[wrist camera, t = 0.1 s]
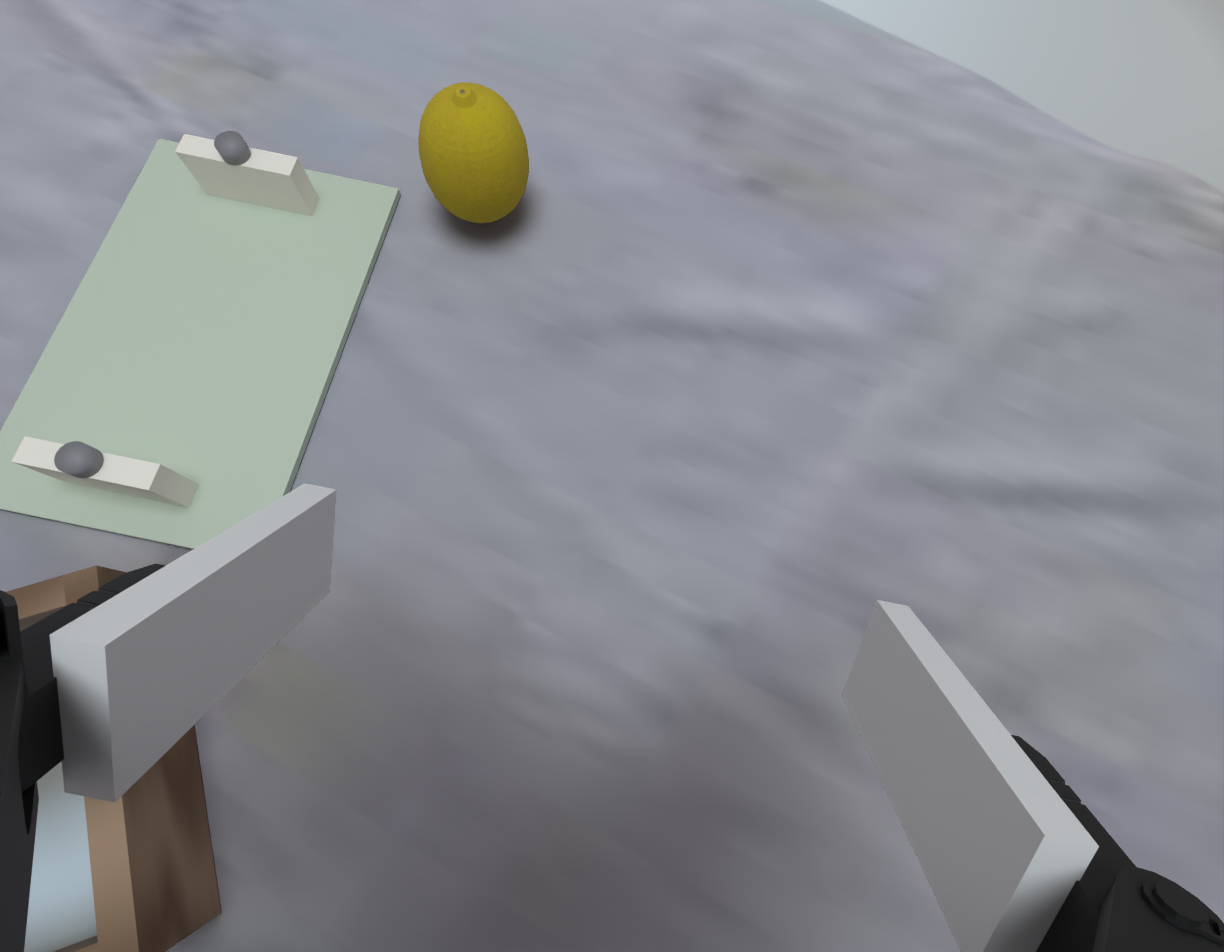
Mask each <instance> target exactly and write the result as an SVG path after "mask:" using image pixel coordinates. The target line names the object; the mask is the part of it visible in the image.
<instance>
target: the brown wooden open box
mask: <svg viewBox="0 0 1224 952" xmlns="http://www.w3.org/2000/svg"><path fill="white" fill-rule="evenodd" d="M124 573H126V572H122V571H118V570H113V569H109V568H105V567H100V566H93V567H90V568H87V569H83V570H80V571H76V572H73V573H69V574H66V575H63V576H59V577H56V578H52V579H49V580H45V581H42V582H38V583H35V584H32V585H28V586H25V587H21V588H18V589H14V590H11V591H8V592H5V593H7V594H10V595H12V596H14V598H15V600H16V603H17V607H18V616H19V625H20V632H21V631H22V630H24V629H26V628H28V627H30V626H31V625H33V624H35V623H37V622H39V621H40V620H42V619H44V618H46V617H47V616H49V615H51V614H53V613H55V612H56V611H58V610H60V609H62V608H63V607H65V606H67V605H69V604H71V603H76V602H77V600H78V599H79V598H81V597H83V596H85V595H87V594H88V593H90V592H92V591H98V588H99V587H101V586H103V585H104V584H106V583H108V582H110V581H112V580H113V579H115V578H117V577H119V576H120V575H122V574H124ZM37 786H38V795H39V803H38V813H37V824H36V834H35V844H34V855H33V865H32V875H31V885H30V896H29V906H28V916H27V926H26V937H25V947H24V952H165V951H166V950H168V949H169V948H171V947H172V946H174V945H175V944H177V943H178V942H179V941H181V940H182V939H184V938H185V937H187V936H188V935H190V934H191V933H193V932H194V931H196V930H197V929H198V928H200V927H201V926H203V925H204V924H206V923H207V922H209V921H210V920H212V919H213V918H214V917H216V916H217V915H219V914H220V913H221V909H220V902H219V895H218V888H217V881H216V874H215V867H214V860H213V853H212V846H211V839H210V832H209V825H208V818H207V811H206V804H205V797H204V790H203V783H202V776H201V770H200V763H199V756H198V749H197V742H196V735H195V728H194V725H193V726H192V727H191V728H190V729H189V730H188V731H187V732H186V733H185V734H184V735H183V736H182V737H181V738H180V739H179V740H178V741H177V742H176V743H175V744H174V745H173V746H172V747H171V748H170V749H169V750H168V751H167V752H166V753H165V754H164V755H163V756H162V757H161V758H160V759H159V760H158V761H157V762H156V763H155V764H154V765H153V766H152V767H151V768H150V769H149V770H148V771H147V772H146V773H145V774H144V775H143V776H141V777H140V778H139V779H138V780H137V781H136V782H135V783H134V784H133V785H132V786H131V787H130V788H129V789H128V790H127V791H126V792H125V793H124V794H123V795H122V796H121V797H120V798H119V799H118V800H117V801H116V802H110V801H105V800H100V799H95V798H90V797H85V796H80V795H75V794H70V793H65V792H64V781H63V771H62V761H61V762H60V763H59V764H57V765H56V766H55V767H54V768H52V769H51V770H50V771H49V772H48V773H46V774H45V775H44V776H43V777H42V778H40V779H39V780H38V781H37Z"/></svg>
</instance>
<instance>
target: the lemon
mask: <svg viewBox="0 0 1224 952" xmlns="http://www.w3.org/2000/svg"><path fill="white" fill-rule="evenodd" d="M419 155H420V160H421V164H422V169H423V173H424V176H425V179H426V181H427V183H428V185H429V187H430V188H431V190H432V192H433V194H434V196H435V197H436V199H437V200H438V201H439V202H440V203H441V204H442V205H443V206H444V207H445V208H446V209H447V210H448V211H449V212H450V213H452V214H453V215H455V216H457V217H459V218H460V219H463V220H466V221H470V222H473V223H488V222H493V221H496V220H499V219H501V218H503V217H504V216H506V215H507V214H509V213H510V212H511V211H512V210H513V209H514V208H515V207H516V206H517V205H518V203H519V201H520V199H521V197H522V196H523V194H524V192H525V188H526V184H527V179H528V173H529V158H528V150H527V144H526V139H525V136H524V133H523V130H522V128H521V126H520V123H519V121H518V119H517V117H516V115H515V113H514V111H513V110H512V108H511V107H510V106H509V105H508V103H507V102H506V101H505V100H504V99H503V98H502V97H501V96H500V95H498V94H497V93H496V92H494V91H493V90H491V89H489V88H487V87H485V86H482V85H479V84H474V83H457V84H453V85H451V86H448V87H446V88H444V89H442V90H441V91H439V92H438V93H437V94H436V95H435V96H434V97H433V98H432V99H431V100H430V102H429V103H428V104H427V106H426V108H425V111H424V113H423V115H422V118H421V122H420V130H419Z"/></svg>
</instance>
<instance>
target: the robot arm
mask: <svg viewBox="0 0 1224 952" xmlns="http://www.w3.org/2000/svg"><path fill="white" fill-rule="evenodd" d="M335 503H336V490H335V489H330V488H325V487H320V486H315V485H311V484H306V483H304V484H303V485H301V486H299V487H298V488H296V489H294V490H293V491H291V492H289V493H287V494H286V495H284V496H282V497H281V498H279V499H277V500H276V501H274V502H272V503H271V504H269V505H267V506H266V507H264V508H262V509H261V510H259V511H257V512H255V513H254V514H252V515H250V516H249V517H247V518H245V519H244V520H242V521H240V522H239V523H237V524H235V525H234V526H232V527H230V528H229V529H227V530H225V531H223V532H222V533H220V534H218V535H217V536H215V537H213V538H212V539H210V540H208V541H207V542H205V543H203V544H202V545H200V546H198V547H197V548H195V549H193V550H191V551H190V552H188V553H186V554H185V555H183V556H181V557H180V558H178V559H176V560H175V561H173V562H171V563H170V564H168V565H166V566H165V565H160V564H153V565H150V566H147V567H144V568H140V569H137V570H134V571H131V572H128V573H124V574H122V575H120V576H119V577H117V578H115V579H113V580H112V581H110V582H108V583H106V584H104V585H103V586H101V587H99V588H98V591H92V592H90V593H88V594H87V595H85V596H83V597H81V598H79V599H78V600H77V602H76V603H71V604H69V605H67V606H65V607H63V608H62V609H60V610H58V611H56V612H55V613H53V614H51V615H49V616H47V617H46V618H44V619H42V620H40V621H39V622H37V623H35V624H33V625H31V626H30V627H28V628H26V629H24V630H22V631H21V632H20V625H19V616H18V607H17V603H16V600H15V598H14V596H12V595H10V594H7V593H5V592H3V591H0V952H24V947H25V937H26V926H27V916H28V906H29V896H30V885H31V875H32V865H33V855H34V844H35V834H36V824H37V813H38V803H39V795H38V786H37V781H38V780H39V779H40V778H42V777H43V776H44V775H45V774H46V773H48V772H49V771H50V770H51V769H52V768H54V767H55V766H56V765H57V764H59V763H60V762H61V761H62V771H63V781H64V792H65V793H70V794H75V795H80V796H85V797H90V798H95V799H100V800H105V801H110V802H116V801H117V800H118V799H119V798H120V797H121V796H122V795H123V794H124V793H125V792H126V791H127V790H128V789H129V788H130V787H131V786H132V785H133V784H134V783H135V782H136V781H137V780H138V779H139V778H140V777H141V776H143V775H144V774H145V773H146V772H147V771H148V770H149V769H150V768H151V767H152V766H153V765H154V764H155V763H156V762H157V761H158V760H159V759H160V758H161V757H162V756H163V755H164V754H165V753H166V752H167V751H168V750H169V749H170V748H171V747H172V746H173V745H174V744H175V743H176V742H177V741H178V740H179V739H180V738H181V737H182V736H183V735H184V734H185V733H186V732H187V731H188V730H189V729H190V728H191V727H192V726H193V725H194V724H196V723H197V722H198V721H199V720H200V719H201V718H202V717H203V716H204V715H205V714H206V713H207V712H208V711H209V710H210V709H211V708H212V707H213V706H214V705H215V704H216V703H217V702H218V701H219V700H220V699H221V698H222V697H223V696H224V695H225V694H226V693H227V692H228V691H229V690H230V689H231V688H232V687H233V686H234V685H235V684H236V683H237V682H238V681H239V680H240V679H241V678H242V677H243V676H244V675H245V674H246V673H248V672H249V671H250V670H251V669H252V668H253V667H254V666H255V665H256V664H257V663H258V662H259V661H260V660H261V659H262V658H263V657H264V656H265V655H266V654H267V653H268V652H269V651H270V650H271V649H272V648H273V647H274V646H275V645H276V644H277V643H278V642H279V641H280V640H281V639H282V638H283V637H284V636H285V635H286V634H287V633H288V632H289V631H290V630H291V629H292V628H293V627H294V626H295V625H296V624H297V623H298V622H299V621H301V620H302V619H303V618H304V617H305V616H306V615H307V614H308V613H309V612H310V611H311V610H312V609H313V608H314V607H315V606H316V605H317V604H318V603H319V602H320V601H321V600H322V599H323V598H324V597H325V596H326V595H327V594H328V593H329V592H330V583H331V567H332V551H333V535H334V519H335ZM842 697H843V699H844V701H845V703H846V705H847V708H848V710H849V712H850V714H851V716H852V718H853V721H854V723H855V725H856V727H857V729H858V731H859V733H860V736H861V738H862V740H863V742H864V744H865V746H866V749H867V751H868V753H869V755H870V757H871V759H872V761H873V764H874V766H875V768H876V770H877V772H878V774H879V777H880V779H881V781H882V783H883V785H884V787H885V789H886V792H887V794H888V796H889V798H890V800H891V802H892V805H893V807H894V809H895V811H896V813H897V815H898V817H899V820H900V822H901V824H902V826H903V828H904V830H905V833H906V835H907V837H908V839H909V841H910V843H911V845H912V848H913V850H914V852H915V854H916V856H917V858H918V860H919V863H920V865H921V867H922V869H923V871H924V873H925V876H926V878H927V880H928V882H929V884H930V886H931V888H932V891H933V893H934V895H935V897H936V899H937V901H938V904H939V906H940V908H941V910H942V912H943V914H944V916H945V919H946V921H947V923H948V925H949V927H950V929H951V932H952V934H953V936H954V938H955V940H956V942H957V944H958V947H959V949H960V951H961V952H1224V923H1223V922H1222V921H1221V920H1220V918H1219V917H1218V916H1217V915H1216V914H1215V913H1214V912H1213V911H1212V910H1210V909H1209V908H1208V907H1207V906H1206V905H1205V904H1204V903H1203V902H1202V901H1200V900H1199V899H1198V898H1197V897H1195V896H1194V895H1192V894H1191V893H1190V892H1188V891H1187V890H1185V889H1184V888H1182V887H1181V886H1179V885H1178V884H1176V883H1175V882H1173V881H1171V880H1169V879H1167V878H1165V877H1163V876H1161V875H1159V874H1157V873H1155V872H1152V871H1148V870H1145V869H1141V868H1138V867H1136V866H1135V865H1134V864H1133V862H1132V861H1131V860H1130V859H1129V858H1128V856H1127V855H1126V854H1125V853H1124V852H1123V850H1122V849H1121V848H1120V847H1119V846H1118V844H1117V843H1116V842H1115V841H1114V840H1113V838H1112V837H1111V836H1110V835H1109V834H1108V832H1107V831H1106V830H1105V829H1104V828H1103V826H1102V825H1101V824H1100V823H1099V822H1098V820H1097V819H1096V818H1095V817H1094V815H1093V814H1092V813H1091V812H1090V811H1089V809H1088V808H1087V807H1086V806H1085V805H1082V804H1081V800H1080V799H1079V797H1078V796H1077V795H1076V794H1075V793H1074V791H1073V790H1072V789H1071V788H1070V787H1069V786H1067V785H1065V781H1064V779H1063V778H1062V777H1061V776H1060V775H1059V773H1058V772H1057V771H1056V770H1055V768H1054V767H1053V766H1052V765H1051V764H1050V762H1049V761H1048V760H1047V759H1046V758H1045V757H1044V756H1043V755H1041V754H1040V753H1039V752H1038V751H1036V750H1035V749H1034V748H1033V747H1031V746H1030V745H1029V744H1028V743H1027V742H1025V741H1024V740H1023V739H1022V738H1020V737H1019V736H1014V735H1010V734H1009V732H1008V731H1007V730H1006V729H1005V727H1004V726H1003V725H1002V723H1001V722H1000V721H999V720H998V718H997V717H996V716H995V715H994V713H993V712H992V711H991V710H990V708H989V707H988V706H987V705H986V703H985V702H984V701H983V700H982V698H981V697H980V696H979V695H978V693H977V692H976V691H975V689H974V688H973V687H972V686H971V684H970V683H969V682H968V681H967V679H966V678H965V677H964V676H963V674H962V673H961V672H960V671H959V669H958V668H957V667H956V666H955V664H954V663H953V662H952V661H951V659H950V658H949V657H948V656H947V654H946V653H945V652H944V650H943V649H942V648H941V647H940V645H939V644H938V643H937V642H936V640H935V639H934V638H933V637H932V635H931V634H930V633H929V632H928V630H927V629H926V628H925V627H924V625H923V624H922V623H921V622H920V620H919V619H918V618H917V616H916V615H915V614H914V613H913V611H912V610H911V609H910V608H909V606H905V605H900V604H895V603H890V602H885V601H880V600H877V601H876V604H875V606H874V609H873V612H872V615H871V617H870V620H869V623H868V625H867V628H866V631H865V634H864V636H863V639H862V642H861V644H860V647H859V650H858V653H857V655H856V658H855V661H854V663H853V666H852V669H851V672H850V674H849V677H848V680H847V682H846V685H845V688H844V691H843V693H842Z"/></svg>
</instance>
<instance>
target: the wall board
mask: <svg viewBox="0 0 1224 952" xmlns="http://www.w3.org/2000/svg"><path fill="white" fill-rule="evenodd" d="M400 195H401V194H400V191H399V189H398V188H394V187H389V186H384V185H379V184H374V183H370V182H365V181H360V180H355V179H350V178H346V177H341V176H336V175H331V174H326V173H322V172H317V171H312V170H307V169H303V167H302V165H301V163H300V161H299V159H298V157H293V156H288V155H283V154H279V153H274V152H269V151H264V150H259V149H255V148H250V147H248V146H247V144H246V142H245V141H244V139H243V137H242V136H241V135H240V134H239V133H237V132H234V131H226V132H223V133H221V134H219V135H218V136H217V137H216V138H215V140H211V139H207V138H202V137H197V136H192V135H187V134H184V135H183V137H182V139H181V141H180V143H178V142H173V141H168V140H163V139H159V140H158V142H157V143H156V145H155V147H154V149H153V151H152V153H151V155H150V156H149V158H148V160H147V162H146V164H145V166H144V167H143V169H142V171H141V173H140V175H139V177H138V178H137V180H136V182H135V184H134V186H133V188H132V190H131V191H130V193H129V195H128V197H127V199H126V201H125V202H124V204H123V206H122V208H121V210H120V212H119V213H118V215H117V217H116V219H115V221H114V223H113V225H112V226H111V228H110V230H109V232H108V234H107V236H106V237H105V239H104V241H103V243H102V245H101V247H100V248H99V250H98V252H97V254H96V256H95V258H94V260H93V261H92V263H91V265H90V267H89V269H88V271H87V272H86V274H85V276H84V278H83V280H82V282H81V283H80V285H79V287H78V289H77V291H76V293H75V295H74V296H73V298H72V300H71V302H70V304H69V306H68V307H67V309H66V311H65V313H64V315H63V317H62V319H61V320H60V322H59V324H58V326H57V328H56V330H55V331H54V333H53V335H52V337H51V339H50V341H49V342H48V344H47V346H46V348H45V350H44V352H43V354H42V355H41V357H40V359H39V361H38V363H37V365H36V366H35V368H34V370H33V372H32V374H31V376H30V377H29V379H28V381H27V383H26V385H25V387H24V389H23V390H22V392H21V394H20V396H19V398H18V400H17V401H16V403H15V405H14V407H13V409H12V411H11V412H10V414H9V416H8V418H7V420H6V422H5V424H4V425H3V427H2V429H1V431H0V509H1V510H5V511H10V512H15V513H20V514H25V515H30V516H34V517H39V518H44V519H49V520H54V521H59V522H64V523H68V524H73V525H78V526H83V527H88V528H93V529H97V530H102V531H107V532H112V533H117V534H122V535H126V536H131V537H136V538H141V539H146V540H151V541H156V542H160V543H165V544H170V545H175V546H180V547H185V548H189V549H195V548H197V547H198V546H200V545H202V544H203V543H205V542H207V541H208V540H210V539H212V538H213V537H215V536H217V535H218V534H220V533H222V532H223V531H225V530H227V529H229V528H230V527H232V526H234V525H235V524H237V523H239V522H240V521H242V520H244V519H245V518H247V517H249V516H250V515H252V514H254V513H255V512H257V511H259V510H261V509H262V508H264V507H266V506H267V505H269V504H271V503H272V502H274V501H276V500H277V499H279V498H281V497H282V496H284V495H286V494H287V493H289V492H290V490H291V487H292V485H293V482H294V479H295V477H296V474H297V471H298V469H299V466H300V463H301V460H302V458H303V455H304V452H305V450H306V447H307V444H308V442H309V439H310V436H311V434H312V431H313V428H314V426H315V423H316V420H317V418H318V415H319V412H320V410H321V407H322V404H323V402H324V399H325V396H326V394H327V391H328V388H329V386H330V383H331V380H332V378H333V375H334V372H335V369H336V367H337V364H338V361H339V359H340V356H341V353H342V351H343V348H344V345H345V343H346V340H347V337H348V335H349V332H350V329H351V327H352V324H353V321H354V319H355V316H356V313H357V311H358V308H359V305H360V303H361V300H362V297H363V295H364V292H365V289H366V286H367V284H368V281H369V278H370V276H371V273H372V270H373V268H374V265H375V262H376V260H377V257H378V254H379V252H380V249H381V246H382V244H383V241H384V238H385V236H386V233H387V230H388V228H389V225H390V222H391V220H392V217H393V214H394V212H395V209H396V206H397V203H398V201H399V198H400Z"/></svg>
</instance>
